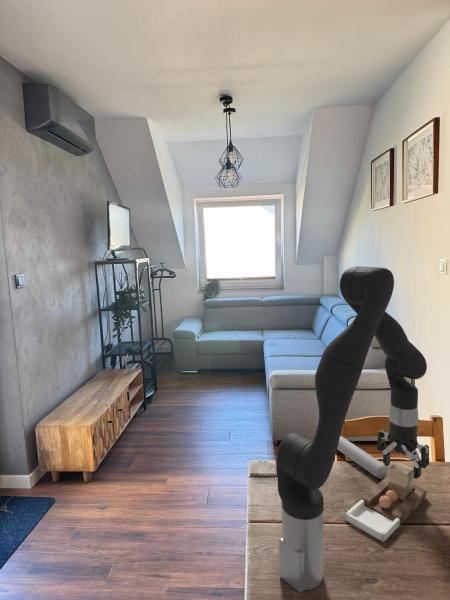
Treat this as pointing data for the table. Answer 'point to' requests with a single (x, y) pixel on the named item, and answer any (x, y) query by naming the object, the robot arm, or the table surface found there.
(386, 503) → the ball
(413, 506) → the slot board
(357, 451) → the tube
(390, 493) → the ball
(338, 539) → the table surface
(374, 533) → the tray
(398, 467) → the block
